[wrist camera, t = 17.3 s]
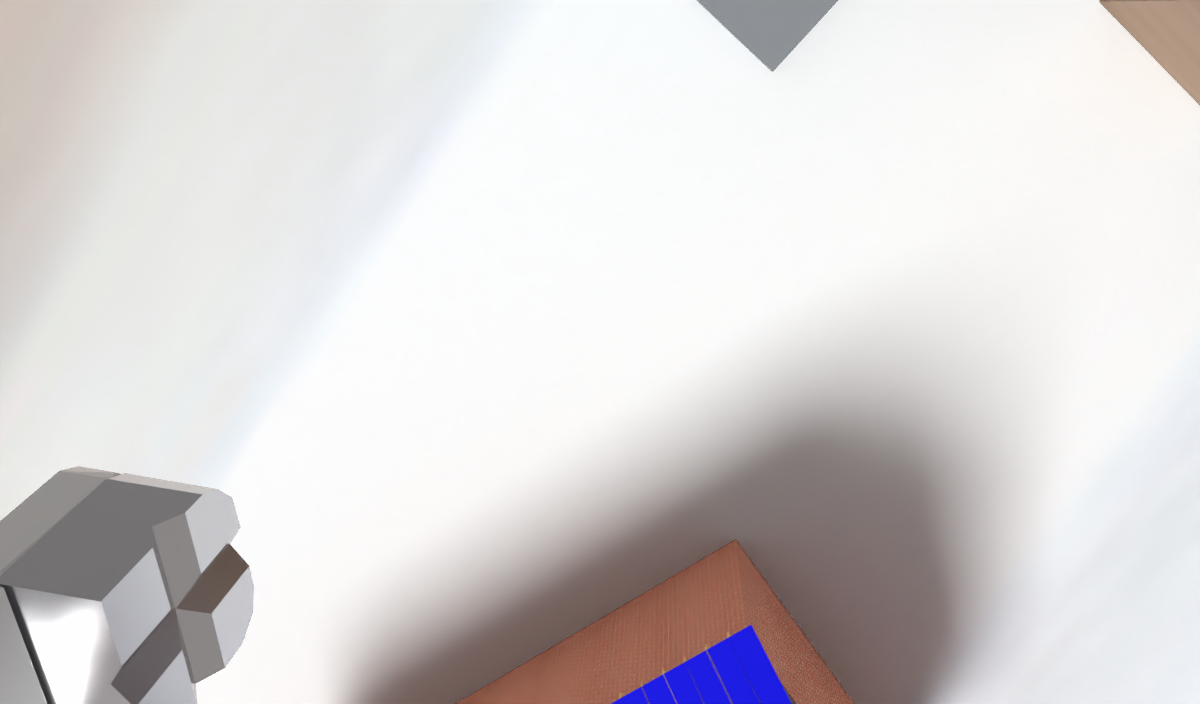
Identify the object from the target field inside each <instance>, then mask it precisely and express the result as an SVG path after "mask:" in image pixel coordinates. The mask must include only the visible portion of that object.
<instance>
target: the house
mask: <svg viewBox="0 0 1200 704" xmlns="http://www.w3.org/2000/svg"><path fill="white" fill-rule="evenodd" d="M456 704H854V703H853V701H852V700H851V698H850V697H849V696H848V694H847V693H846V692H845V690H844V689H843V687H842V686H841V685H840V683H839V682H838V680H837V679H836V678H835V676H834V675H833V674H832V672H831V671H830V669H829V668H828V667H827V665H826V664H825V662H824V661H823V660H822V658H821V657H820V656H819V654H818V653H817V651H816V650H815V649H814V647H813V646H812V645H811V643H810V642H809V640H808V639H807V638H806V636H805V635H804V633H803V632H802V631H801V629H800V628H799V627H798V625H797V624H796V622H795V621H794V620H793V618H792V617H791V615H790V614H789V613H788V611H787V610H786V609H785V607H784V606H783V604H782V603H781V602H780V600H779V599H778V597H777V596H776V595H775V593H774V592H773V591H772V589H771V588H770V586H769V585H768V584H767V582H766V581H765V579H764V578H763V577H762V575H761V574H760V573H759V571H758V570H757V568H756V567H755V566H754V564H753V563H752V562H751V560H750V559H749V557H748V556H747V555H746V553H745V552H744V550H743V549H742V548H741V546H740V545H739V544H738V542H737V541H736V540H734V541H732V542H731V543H729V544H727V545H725V546H724V547H722V548H720V549H719V550H717V551H715V552H714V553H712V554H710V555H708V556H707V557H705V558H703V559H702V560H700V561H698V562H696V563H695V564H693V565H691V566H690V567H688V568H686V569H685V570H683V571H681V572H679V573H678V574H676V575H674V576H673V577H671V578H669V579H667V580H666V581H664V582H662V583H661V584H659V585H657V586H656V587H654V588H652V589H650V590H649V591H647V592H645V593H644V594H642V595H640V596H638V597H637V598H635V599H633V600H632V601H630V602H628V603H627V604H625V605H623V606H621V607H620V608H618V609H616V610H615V611H613V612H611V613H609V614H608V615H606V616H604V617H603V618H601V619H599V620H598V621H596V622H594V623H592V624H591V625H589V626H587V627H586V628H584V629H582V630H580V631H579V632H577V633H575V634H574V635H572V636H570V637H569V638H567V639H565V640H563V641H562V642H560V643H558V644H557V645H555V646H553V647H551V648H550V649H548V650H546V651H545V652H543V653H541V654H540V655H538V656H536V657H534V658H533V659H531V660H529V661H528V662H526V663H524V664H522V665H521V666H519V667H517V668H516V669H514V670H512V671H511V672H509V673H507V674H505V675H504V676H502V677H500V678H499V679H497V680H495V681H493V682H492V683H490V684H488V685H487V686H485V687H483V688H482V689H480V690H478V691H476V692H475V693H473V694H471V695H470V696H468V697H466V698H464V699H463V700H461V701H459V702H458V703H456Z"/></svg>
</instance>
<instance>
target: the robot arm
mask: <svg viewBox="0 0 1200 704" xmlns="http://www.w3.org/2000/svg"><path fill="white" fill-rule="evenodd" d="M239 528H240V525H239V521H238V517H237V514H236V510H235V507H234V503H233V500H232V497H230V496H228V495H227V494H225V493H223V492H221V491H220V490H218V489H213V488H207V487H201V486H195V485H189V484H184V483H178V482H172V481H166V480H160V479H155V478H149V477H143V476H137V475H131V474H126V473H125V474H119V473H114V472H108V471H102V470H97V469H91V468H85V467H79V466H78V467H74V468H70V469H66V470H61V471H59V472H58V473H57V474H55V475H54V476H53V477H52V478H51V479H49V480H48V481H47V482H46V483H45V484H44V485H42V486H41V487H40V488H39V489H38V490H36V491H35V492H34V493H33V494H32V495H31V496H29V497H28V498H27V499H26V500H25V501H24V502H22V503H21V504H20V505H19V506H18V507H16V508H15V509H14V510H13V511H12V512H11V513H9V514H8V515H7V516H6V517H5V518H4V519H2V520H1V521H0V704H197V697H196V683H197V682H199V681H201V680H203V679H205V678H207V677H208V676H210V675H212V674H214V673H216V672H218V671H220V670H222V669H223V668H225V667H226V665H227V664H228V663H229V661H230V660H231V658H232V657H233V656H234V654H235V653H236V651H237V650H238V648H239V647H240V646H241V644H242V642H243V639H244V636H245V633H246V631H247V628H248V625H249V622H250V619H251V616H252V613H253V592H254V587H253V582H252V577H251V573H250V568H249V565H248V564H247V563H246V562H245V561H244V560H243V559H242V558H241V556H240V555H239V554H238V553H237V552H236V551H235V550H234V549H233V547H232V546H231V545H230V543H231V541H232V539H233V538H234V536H235V535H236V533H237V532H238V530H239Z"/></svg>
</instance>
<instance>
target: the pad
mask: <svg viewBox="0 0 1200 704" xmlns="http://www.w3.org/2000/svg"><path fill="white" fill-rule="evenodd" d="M697 1H698V2H699V3H700V4H701V5H702V6H703V7H704V8H705V9H706V10H708V11H709V12H710V13H711V14H712V15H713V16H714V17H715V18H716V19H717V20H718V21H719V22H720V23H721V24H722V25H723V26H724V27H725V28H727V29H728V30H729V31H730V32H731V33H732V34H733V35H734V36H735V37H736V38H737V39H738V40H739V41H740V42H741V43H742V44H743V45H744V46H746V47H747V48H748V49H749V50H750V51H751V52H752V53H753V54H754V55H755V56H756V57H757V58H758V59H759V60H760V61H761V62H762V63H763V64H764V65H766V66H767V67H768V68H769V69H770V70H771V71H774V70H775V69H776V68H777V67H778V65H779V64H780V63H781V62H782V61H783V60H784V59H785V58H786V57H787V56H788V55H789V53H790V52H791V51H792V50H793V49H794V48H795V47H796V46H797V45H798V44H799V42H800V41H801V40H802V39H803V38H804V37H805V36H806V35H807V34H808V33H809V32H810V30H811V29H812V28H813V27H814V26H815V25H816V24H817V23H818V22H819V21H820V19H821V18H822V17H823V16H824V15H825V14H826V13H827V12H828V11H829V10H830V9H831V7H832V6H833V5H834V4H835V3H836V2H837V1H838V0H697Z"/></svg>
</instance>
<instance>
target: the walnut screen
mask: <svg viewBox="0 0 1200 704" xmlns="http://www.w3.org/2000/svg"><path fill="white" fill-rule="evenodd" d="M1099 2H1100V3H1101V4H1102V5H1103V6H1104V7H1105V8H1106V9H1107V10H1108V11H1109V12H1110V13H1111V14H1112V15H1113V16H1114V17H1115V18H1116V19H1117V20H1118V21H1119V22H1120V23H1121V25H1122V26H1123V27H1124V28H1125V29H1126V30H1127V31H1128V32H1129V33H1130V34H1131V35H1132V36H1133V37H1134V38H1135V39H1136V40H1137V41H1138V42H1139V43H1140V44H1141V45H1142V46H1143V47H1144V48H1145V49H1146V50H1147V51H1148V52H1149V53H1150V54H1151V55H1152V56H1153V57H1154V58H1155V59H1156V60H1157V62H1158V63H1159V64H1160V65H1161V66H1162V67H1163V68H1164V69H1165V70H1166V71H1167V72H1168V73H1169V74H1170V75H1171V76H1172V77H1173V78H1174V79H1175V80H1176V81H1177V82H1178V83H1179V84H1180V85H1181V86H1182V87H1183V88H1184V89H1185V90H1186V91H1187V92H1188V93H1189V94H1190V95H1191V96H1192V97H1193V99H1194V100H1195V101H1196V102H1197V103H1198V104H1199V105H1200V0H1100V1H1099Z"/></svg>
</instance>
